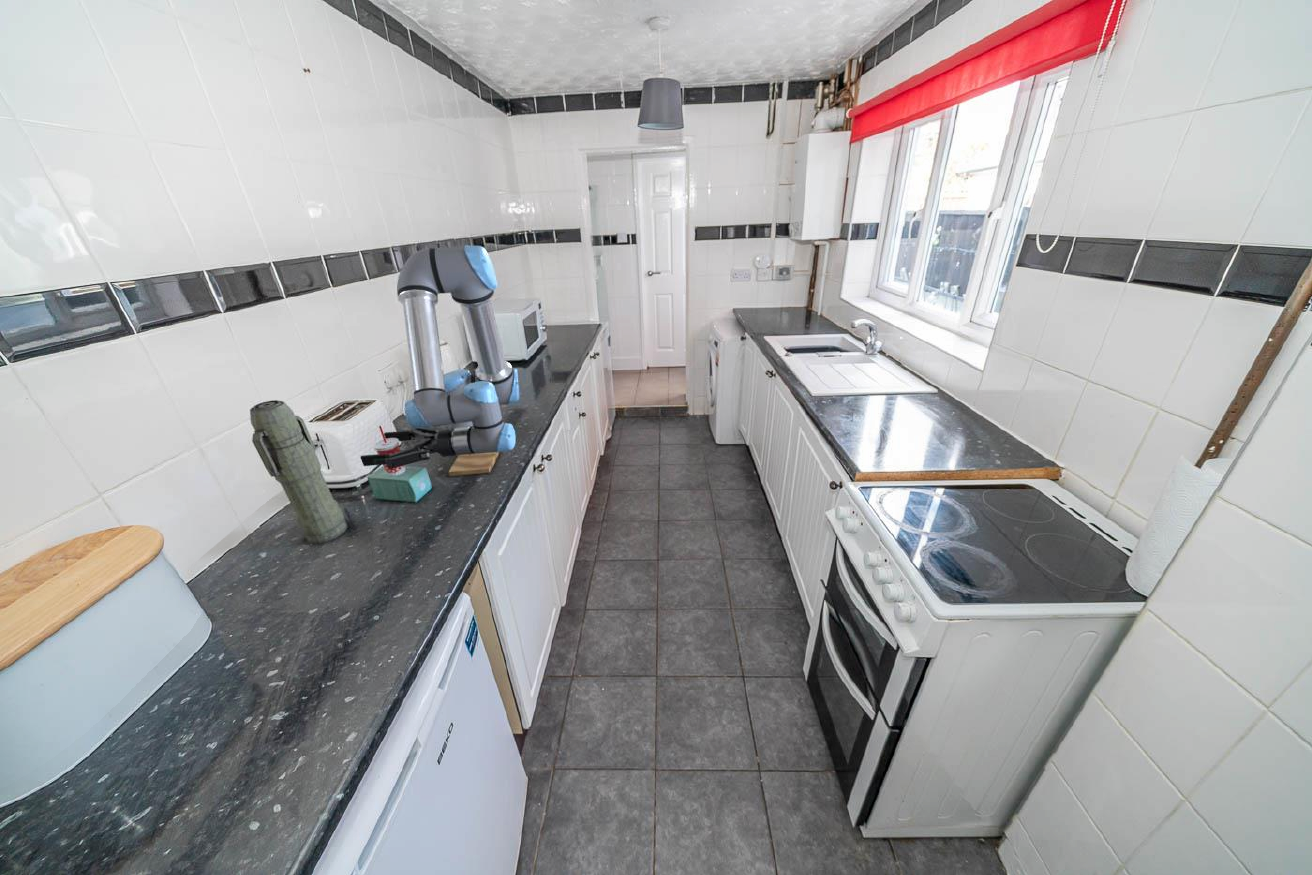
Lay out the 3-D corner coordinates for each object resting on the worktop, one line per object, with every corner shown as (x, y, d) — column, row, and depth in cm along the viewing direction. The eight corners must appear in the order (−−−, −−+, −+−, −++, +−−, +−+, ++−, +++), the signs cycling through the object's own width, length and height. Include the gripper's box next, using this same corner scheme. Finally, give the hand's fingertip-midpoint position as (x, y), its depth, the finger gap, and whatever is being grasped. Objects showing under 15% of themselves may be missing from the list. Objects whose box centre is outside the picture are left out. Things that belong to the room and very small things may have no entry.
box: (417, 503, 124) (409, 479, 121) (374, 500, 127) (365, 477, 123) (433, 488, 130) (426, 466, 127) (393, 485, 133) (384, 463, 130)
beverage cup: (389, 467, 128) (373, 422, 121) (412, 465, 128) (396, 420, 122) (380, 478, 122) (362, 432, 116) (403, 476, 122) (386, 430, 116)
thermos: (358, 516, 120) (305, 393, 104) (330, 546, 109) (267, 413, 93) (324, 518, 120) (266, 395, 104) (294, 548, 109) (224, 416, 93)
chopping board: (466, 448, 152) (465, 444, 151) (502, 445, 153) (501, 441, 152) (449, 476, 136) (448, 472, 135) (490, 472, 137) (488, 468, 136)
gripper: (444, 477, 113) (356, 485, 112) (471, 433, 135) (398, 439, 134) (436, 451, 110) (345, 459, 109) (465, 410, 132) (390, 416, 131)
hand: (374, 448), depth 121 cm, fingers open, 13 cm apart
